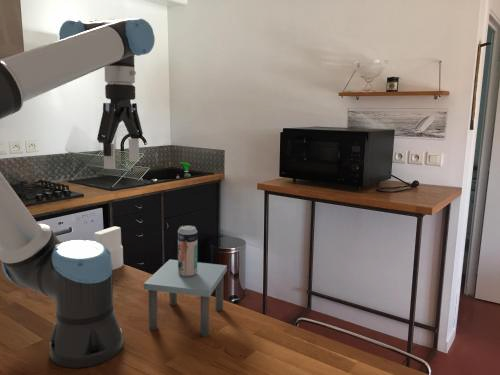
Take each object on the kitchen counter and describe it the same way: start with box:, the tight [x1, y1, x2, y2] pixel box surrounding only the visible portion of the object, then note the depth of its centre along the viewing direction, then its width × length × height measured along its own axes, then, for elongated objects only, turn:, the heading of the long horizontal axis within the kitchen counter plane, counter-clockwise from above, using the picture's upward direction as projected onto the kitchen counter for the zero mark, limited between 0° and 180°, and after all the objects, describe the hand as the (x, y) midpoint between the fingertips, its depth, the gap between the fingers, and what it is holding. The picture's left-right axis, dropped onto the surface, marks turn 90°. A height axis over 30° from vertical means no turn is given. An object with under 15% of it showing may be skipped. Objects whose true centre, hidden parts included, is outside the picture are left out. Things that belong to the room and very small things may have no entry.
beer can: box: [177, 224, 198, 277], centre depth 106 cm, size 5×5×12 cm
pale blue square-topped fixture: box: [143, 259, 228, 338], centre depth 108 cm, size 16×16×12 cm
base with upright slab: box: [93, 225, 124, 270], centre depth 141 cm, size 9×9×12 cm
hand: (122, 165), depth 116 cm, fingers open, 13 cm apart
